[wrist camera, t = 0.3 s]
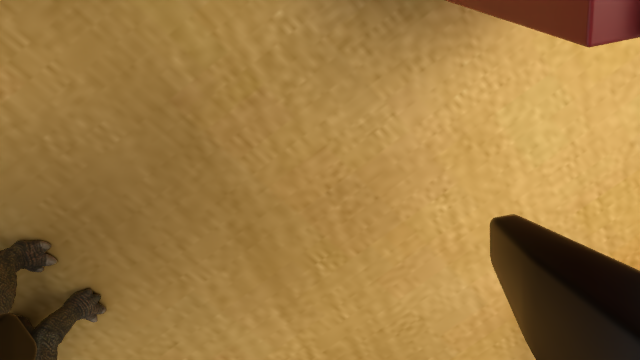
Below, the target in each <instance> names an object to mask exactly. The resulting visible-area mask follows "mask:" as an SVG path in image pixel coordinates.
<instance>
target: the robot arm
mask: <svg viewBox="0 0 640 360" xmlns="http://www.w3.org/2000/svg"><path fill="white" fill-rule="evenodd" d="M490 256H491V261H492V265H493V267H494V270H495V272H496V274H497V277H498V279H499V281H500V284H501V286H502V288H503V290H504V293H505V295H506V297H507V300H508V302H509V304H510V307H511V309H512V311H513V313H514V316H515V318H516V320H517V323H518V325H519V327H520V329H521V332H522V334H523V336H524V338H525V340H526V342H527V344H528V346H529V348H530V350H531V351H532V353H533V355H534V357H535V358H536V360H640V271H639V270H637V269H634V268H632V267H630V266H628V265H626V264H623V263H621V262H619V261H617V260H615V259H612V258H610V257H608V256H606V255H604V254H601V253H599V252H597V251H595V250H593V249H590V248H588V247H586V246H584V245H582V244H579V243H577V242H575V241H573V240H571V239H568V238H566V237H564V236H562V235H560V234H557V233H555V232H553V231H551V230H549V229H546V228H544V227H542V226H540V225H538V224H535V223H533V222H531V221H529V220H527V219H524V218H522V217H520V216H518V215H514V214H512V215H506V216H501V217H496V218H493V219H492V220H491V223H490ZM36 353H37V347H36V343H35V341H34V339H33V338H32V336H31V335H30V334H29V332H28V331H27V330H26V328H25V327H24V326H23V324H22V323H21V321H20V320H19V319H18V317H17V316H15V315H14V314H12V313H4V314H0V360H35V357H36Z"/></svg>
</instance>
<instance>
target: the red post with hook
mask: <svg viewBox="0 0 640 360" xmlns="http://www.w3.org/2000/svg"><path fill="white" fill-rule="evenodd" d="M446 1H449V2H452V3H455V4H458V5H461V6H464V7H467V8H470V9H473V10H476V11H479V12H482V13H485V14H488V15H491V16H494V17H497V18H501V19H504V20H507V21H510V22H513V23H516V24H519V25H522V26H525V27H528V28H531V29H534V30H537V31H540V32H543V33H546V34H549V35H552V36H556V37H559V38H562V39H565V40H568V41H571V42H574V43H577V44H580V45H583V46H586V47H594V46H599V45H604V44H609V43H613V42H618V41H623V40H628V39H633V38H638V37H640V0H446Z"/></svg>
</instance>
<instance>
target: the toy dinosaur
mask: <svg viewBox="0 0 640 360" xmlns="http://www.w3.org/2000/svg"><path fill="white" fill-rule="evenodd" d="M50 248H51V245H50V244H49V243H47V242H44V241H23V240H19V241H17V242H16V243H14V244H13V245H12V246H11V247H9V248H6V249H4V250H1V251H0V314H4V313H8V312H9V310H10V309H11V308H12V305H13V303H14V298H15V296H16V293H15V291H16V286H17V281H16V279H17V276H16V272H17V271H19V270H20V269H27V270H29V271H32V272H42V271H43V270H44V268H43V266H49V265H53V264H55V263H56V262H57V260H56V259H55V258H54V257H52V256H50V255H48V254H46V253H45V252H46V251H47V250H48V249H50ZM100 298H101V296H100V295H97V294H96V295H93V294H92V290H91V289H86V290H84V291H81V292H77V293H75V294H73V295H72V296H71V297H70V298H69V299H68V300H67V301H66V302H65V303H64V305H63V306H62V307H61V308H59V309H58V310H56V311H55V312H54V313H52V314H51V315H49V316H48V317H46V318H45V319H44V320H43V321H42V322H41V323H40V324H39V325H38V326H37V327H36V328H35V329H34V328H33V327H32V325H31V324H30V322H29V321H28V320H27V319H26V318H24V317H22V316H17V315H15V316H17V317H18V319H19V320H20V321H21V323H22V324H23V326H24V327H25V328H26V330H27V331H28V332H29V334H30V335H31V336H32V338H33V339H34V341H35V343H36V347H37V353H36V357H35V360H57V347H58V345H59V344H60V343H61V342H62V340H63V338H64V337H65V335H66V334H67V333H68V331H69V330H70V329H71V327H72V326H73V324H74V323H75V322H76V321H77V320H80V319H86V320H89V321H91V322H97V315H96V314H102V313H104V312H106V308H105V307H103V306H102V305H100V304H98V303H97V302H98V301H99V300H100Z"/></svg>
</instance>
